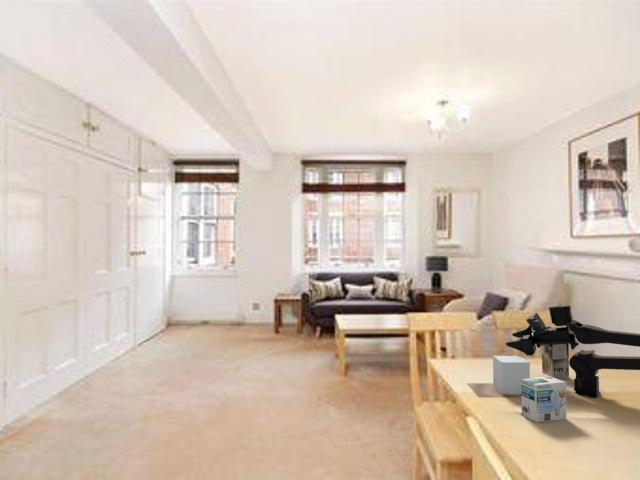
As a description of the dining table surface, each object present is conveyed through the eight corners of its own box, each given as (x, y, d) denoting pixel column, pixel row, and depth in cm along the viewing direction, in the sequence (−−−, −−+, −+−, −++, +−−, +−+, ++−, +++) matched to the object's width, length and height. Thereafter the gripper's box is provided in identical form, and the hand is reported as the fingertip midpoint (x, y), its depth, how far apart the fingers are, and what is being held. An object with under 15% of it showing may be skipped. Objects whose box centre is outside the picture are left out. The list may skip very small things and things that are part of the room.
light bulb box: (536, 423, 130) (536, 385, 130) (520, 415, 137) (519, 378, 137) (567, 419, 133) (567, 381, 133) (550, 411, 140) (549, 375, 140)
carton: (519, 386, 160) (519, 355, 160) (530, 394, 151) (529, 362, 151) (493, 386, 161) (492, 355, 161) (502, 394, 152) (501, 362, 152)
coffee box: (570, 378, 173) (569, 335, 173) (552, 378, 173) (551, 335, 173) (557, 372, 182) (557, 331, 182) (541, 372, 182) (540, 331, 182)
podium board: (523, 387, 163) (523, 383, 163) (541, 401, 148) (541, 397, 148) (466, 386, 164) (466, 383, 164) (478, 400, 149) (478, 397, 149)
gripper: (553, 305, 168) (509, 310, 178) (543, 323, 153) (496, 327, 163) (561, 334, 169) (517, 337, 178) (552, 355, 154) (504, 357, 163)
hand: (509, 339), depth 171 cm, fingers open, 9 cm apart
